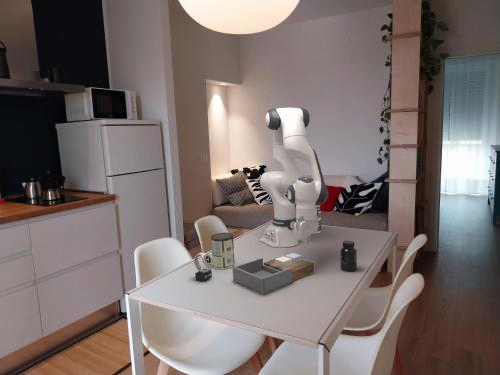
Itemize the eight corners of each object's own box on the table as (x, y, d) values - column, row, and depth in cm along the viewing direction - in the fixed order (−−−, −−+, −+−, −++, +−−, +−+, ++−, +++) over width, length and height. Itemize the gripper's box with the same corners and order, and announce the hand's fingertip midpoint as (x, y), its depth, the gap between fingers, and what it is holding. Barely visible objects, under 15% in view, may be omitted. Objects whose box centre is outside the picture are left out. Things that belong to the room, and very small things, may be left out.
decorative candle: (306, 233, 214) (305, 191, 210) (306, 229, 223) (305, 189, 219) (322, 233, 212) (321, 191, 209) (321, 229, 221) (321, 188, 218)
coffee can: (219, 260, 174) (217, 231, 172) (238, 262, 170) (237, 233, 168) (208, 268, 165) (206, 237, 163) (228, 270, 161) (226, 239, 159)
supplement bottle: (351, 265, 161) (351, 239, 159) (360, 270, 154) (360, 243, 152) (337, 267, 159) (337, 240, 157) (345, 273, 153) (345, 245, 151)
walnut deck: (264, 271, 158) (263, 262, 158) (287, 263, 167) (286, 254, 166) (290, 281, 146) (290, 272, 145) (314, 272, 155) (313, 263, 154)
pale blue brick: (285, 261, 158) (285, 255, 158) (293, 258, 161) (293, 252, 161) (293, 264, 154) (293, 258, 154) (301, 261, 157) (301, 255, 157)
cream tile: (275, 264, 154) (275, 259, 154) (283, 261, 157) (283, 256, 157) (283, 267, 150) (283, 261, 150) (292, 264, 154) (291, 258, 153)
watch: (207, 282, 149) (206, 256, 147) (192, 279, 153) (190, 254, 151) (215, 277, 153) (214, 252, 152) (200, 274, 157) (198, 250, 156)
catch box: (233, 281, 149) (232, 267, 148) (262, 270, 159) (262, 257, 158) (262, 295, 135) (261, 279, 134) (292, 282, 145) (292, 268, 144)
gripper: (303, 219, 149) (304, 252, 151) (320, 211, 167) (320, 240, 168) (289, 218, 152) (290, 250, 154) (307, 210, 170) (308, 239, 171)
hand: (306, 245), depth 161 cm, fingers closed
